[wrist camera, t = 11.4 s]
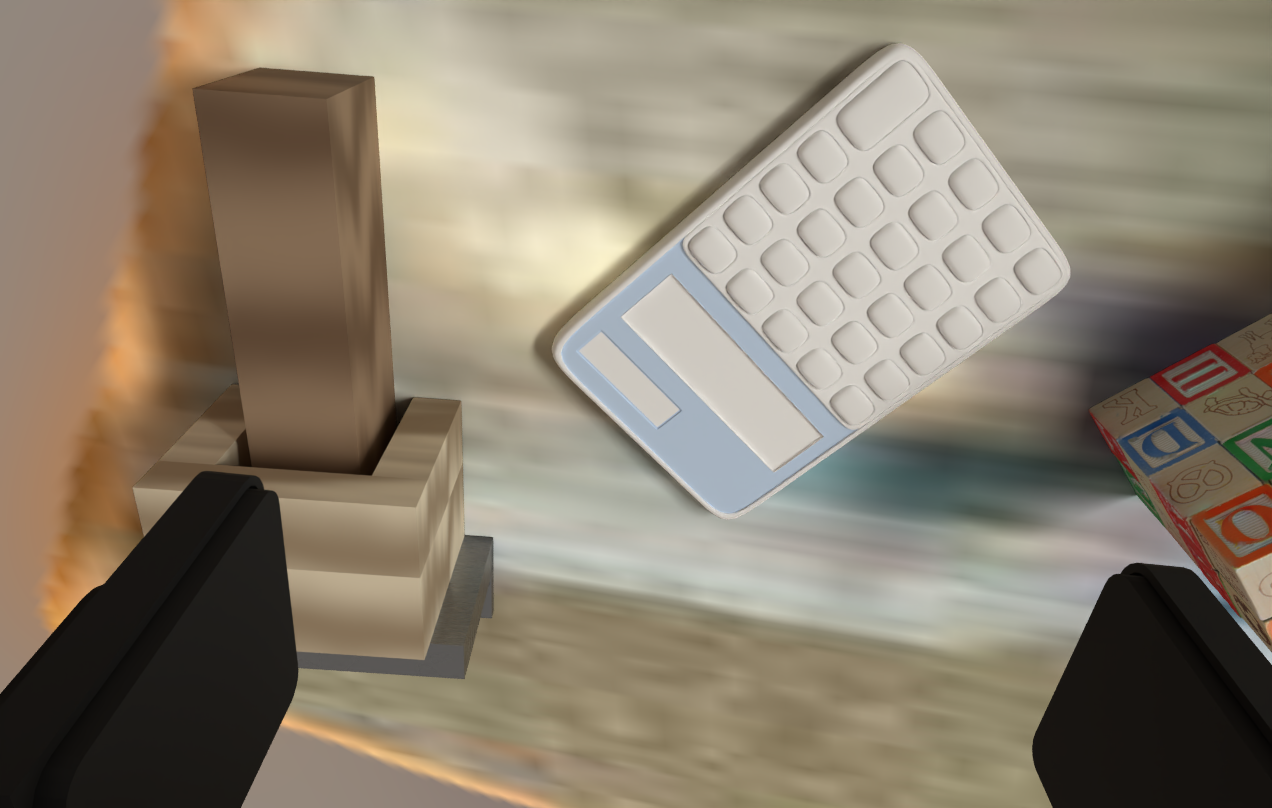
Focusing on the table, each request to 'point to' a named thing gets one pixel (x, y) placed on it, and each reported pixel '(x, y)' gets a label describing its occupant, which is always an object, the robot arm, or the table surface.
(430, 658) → the grey piece
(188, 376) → the table surface
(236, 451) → the maple block
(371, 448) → the walnut bar
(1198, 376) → the stack of blocks
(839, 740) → the table surface
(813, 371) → the calculator
